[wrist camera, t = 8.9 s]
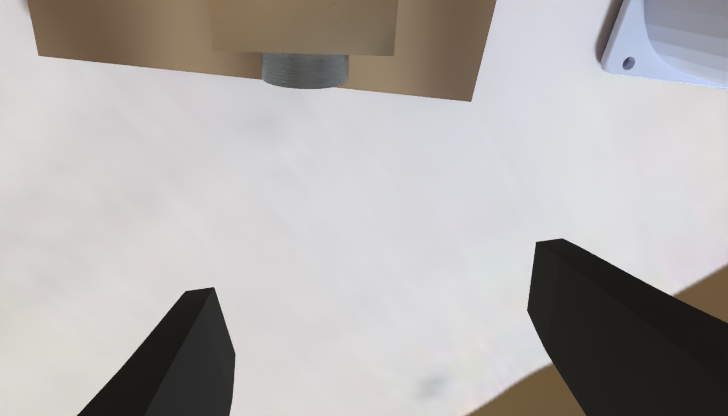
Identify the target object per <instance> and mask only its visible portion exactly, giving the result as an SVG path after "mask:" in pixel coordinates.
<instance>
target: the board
mask: <svg viewBox="0 0 728 416" xmlns="http://www.w3.org/2000/svg"><path fill="white" fill-rule="evenodd" d="M28 4H29V10H30V15H31V20H32V25H33V30H34V35H35V40H36V45H37V50H38V55H39V56H45V57H55V58H64V59H74V60H83V61H92V62H102V63H111V64H121V65H130V66H139V67H149V68H158V69H168V70H177V71H187V72H196V73H205V74H215V75H224V76H234V77H243V78H252V79H262V70H261V53H260V52H226V51H213V43H212V34H211V25H210V15H209V6H208V0H28ZM495 4H496V0H398V9H397V22H396V35H395V48H394V56H371V55H349V79H348V82H347V83H345V84H343V85H340V86H336V87H337V88H347V89H356V90H365V91H375V92H384V93H394V94H403V95H413V96H422V97H431V98H441V99H450V100H460V101H469V102H471V100H472V96H473V92H474V88H475V84H476V80H477V76H478V72H479V68H480V64H481V60H482V56H483V52H484V48H485V44H486V40H487V36H488V32H489V28H490V24H491V20H492V16H493V12H494V8H495ZM262 80H263V79H262Z"/></svg>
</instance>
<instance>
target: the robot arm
mask: <svg viewBox="0 0 728 416" xmlns="http://www.w3.org/2000/svg"><path fill="white" fill-rule="evenodd" d="M628 57H629V62H628V64H627V65H626V66H625V67H622V65H623V62H624V60H625V59H626V58H628ZM601 68H602V69H603V71H605V72H607V73H610V74H613V75H621V76H629V77H637V78H645V79H653V80H661V81H669V82H677V83H685V84H694V85H702V86H710V87H718V88H726V89H728V0H623V3H622V6H621V8H620V11H619V14H618V16H617V19H616V22H615V24H614V27H613V30H612V32H611V35H610V38H609V41H608V43H607V46H606V49H605V51H604V54H603V57H602V60H601ZM527 311H528V313H529V316H530V318H531V320H532V322H533V325H534V327H535V329H536V332H537V334H538V336H539V338H540V340H541V342H542V344H543V346H544V348H545V350H546V352H547V353H548V355H549V357H550V358H551V360H552V362H553V363H554V365H555V366H556V368H557V370H558V371H559V373H560V374H561V376H562V378H563V379H564V381H565V383H566V384H567V385H568V387H569V389H570V390H571V392H572V394H573V395H574V397H575V398H576V400H577V401H578V403H579V405H580V406H581V408H582V409H583V411H584V413H585V414H586V416H728V323H726V322H724V321H722V320H720V319H717V318H715V317H713V316H711V315H709V314H707V313H705V312H703V311H701V310H699V309H697V308H695V307H692V306H690V305H688V304H686V303H684V302H682V301H680V300H678V299H676V298H674V297H672V296H670V295H668V294H666V293H664V292H662V291H661V290H659V289H657V288H655V287H653V286H651V285H649V284H647V283H645V282H643V281H642V280H640V279H638V278H636V277H634V276H632V275H630V274H629V273H627V272H625V271H623V270H621V269H619V268H618V267H616V266H614V265H612V264H610V263H608V262H607V261H605V260H603V259H601V258H599V257H597V256H596V255H594V254H592V253H590V252H588V251H586V250H584V249H583V248H581V247H579V246H577V245H575V244H573V243H571V242H569V241H567V240H565V239H554V240H547V241H540V242H536V247H535V255H534V262H533V270H532V277H531V285H530V293H529V300H528V308H527ZM234 369H235V351H234V348H233V345H232V342H231V339H230V336H229V332H228V329H227V326H226V323H225V320H224V317H223V314H222V310H221V307H220V304H219V301H218V298H217V295H216V292H215V288H214V287H212V288H205V289H198V290H191V291H185V293H184V294H183V295H182V296H181V297H180V298H179V300H178V301H177V302H176V303H175V304H174V306H173V307H172V308H171V309H170V310H169V312H168V313H167V314H166V315H165V316H164V318H163V319H162V320H161V321H160V322H159V324H158V325H157V326H156V327H155V329H154V330H153V331H152V332H151V333H150V335H149V336H148V337H147V338H146V339H145V341H144V342H143V343H142V344H141V345H140V347H139V348H138V349H137V350H136V351H135V352H134V354H133V355H132V356H131V357H130V358H129V359H128V361H127V362H126V363H125V364H124V365H123V366H122V368H121V369H120V370H119V371H118V372H117V373H116V374H115V375H114V376H113V377H112V379H111V380H110V381H109V382H108V383H107V384H106V385H105V386H104V387H103V388H102V389H101V390H100V391H99V393H98V394H97V395H96V396H95V397H94V398H93V399H92V400H91V401H90V402H89V403H88V404H87V406H86V407H85V408H84V409H83V410H82V411H81V412H80V413H79V414H78V415H77V416H229V414H230V409H231V403H232V397H233V384H234Z"/></svg>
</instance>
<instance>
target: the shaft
mask: <svg viewBox="0 0 728 416" xmlns="http://www.w3.org/2000/svg"><path fill="white" fill-rule="evenodd" d="M208 6H209V15H210V25H211V34H212V43H213V51H226V52H260V53H261V70H262V79H263V80H264V81H265V82H267V83H269V84H272V85H276V86H281V87H287V88H298V89H321V88H330V87H336V86H340V85H343V84H345V83H347V82H348V79H349V55H371V56H394V48H395V35H396V22H397V9H398V0H208Z"/></svg>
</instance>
